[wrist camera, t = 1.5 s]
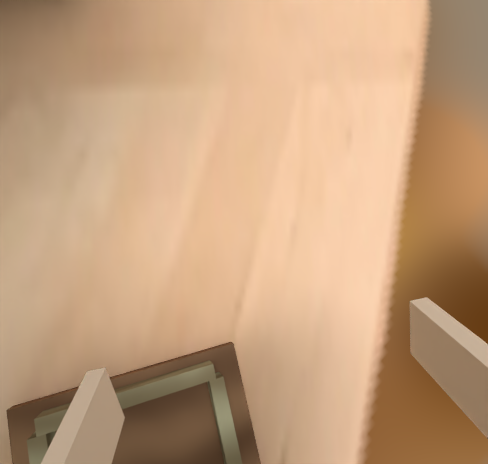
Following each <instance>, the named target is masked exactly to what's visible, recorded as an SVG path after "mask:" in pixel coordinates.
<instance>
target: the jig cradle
mask: <svg viewBox="0 0 488 464" xmlns="http://www.w3.org/2000/svg"><path fill="white" fill-rule="evenodd" d="M110 380H111V383H112V386H113V388H114V391H115V393H116V396H117V399H118V401H119V404H120V406H121V409H122V412H123V414H124V417H125V419H124V422H123V426H122V429H121V433H120V436H119V440H118V443H117V447H116V450H115V454H114V457H113V461H112V464H261V463H260V459H259V454H258V450H257V445H256V441H255V437H254V432H253V428H252V423H251V419H250V415H249V410H248V406H247V401H246V397H245V393H244V388H243V384H242V380H241V375H240V371H239V366H238V362H237V358H236V353H235V349H234V344H233V343H232V342H229V343H226V344H222V345H219V346H215V347H212V348H209V349H205V350H202V351H198V352H195V353H192V354H188V355H185V356H181V357H178V358H175V359H171V360H168V361H164V362H161V363H158V364H154V365H151V366H147V367H144V368H141V369H137V370H134V371H130V372H127V373H124V374H120V375H117V376H113V377H110ZM78 388H79V387H76V388H73V389H69V390H66V391H62V392H59V393H56V394H52V395H49V396H45V397H42V398H39V399H35V400H32V401H28V402H25V403H22V404H18V405H15V406H13V407H11V408H10V409H8V410H7V418H8V427H9V436H10V444H11V453H12V462H13V464H41V462H42V460H43V458H44V456H45V454H46V452H47V450H48V448H49V446H50V444H51V442H52V440H53V438H54V436H55V434H56V432H57V430H58V428H59V426H60V424H61V422H62V420H63V418H64V416H65V414H66V412H67V410H68V408H69V406H70V404H71V402H72V400H73V398H74V396H75V394H76V392H77V390H78Z"/></svg>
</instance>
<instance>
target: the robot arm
mask: <svg viewBox="0 0 488 464" xmlns="http://www.w3.org/2000/svg"><path fill="white" fill-rule="evenodd" d="M410 339H411V340H410V342H411V343H410V344H411V354H412V355H413V356H414V358H415V359H416V360H417V361H418V362H419V363H420V364H421V365H422V366H423V368H424V369H425V370H427V372H428V373H429V374H430V375H431V376H432V377H433V379H434V380H435V381H436V382H437V383H438V384H439V385H440V386H441V387H442V388H443V390H444V391H445V392H446V393H447V394H448V395H449V396H450V397H451V398H452V400H453V401H454V402H455V403H456V404H457V405H458V406H459V407H460V408H461V409H462V411H463V412H464V413H465V414H466V415H467V416H468V417H469V418H470V419H471V421H472V422H473V423H474V424H475V425H476V426H477V427H478V428H479V429H480V430H481V432H482V433H483V434H484V435H485V436H486V437H487V438H488V344H486V343H485V342H484V341H483V340H481V339H480V338H479V337H478V336H476V335H475V334H474V333H472V332H471V331H470V330H468V329H467V328H466V327H465V326H463V325H462V324H461V323H459V322H458V321H457V320H455V319H454V318H453V317H452V316H450V315H449V314H448V313H446V312H445V311H444V310H443V309H441V308H440V307H439V306H437V305H436V304H435V303H433V302H432V301H431V300H430V299H428V298H427V297H426V298H422V299H417V300H412V301H410ZM124 419H125V417H124V414H123V412H122V409H121V406H120V404H119V401H118V399H117V396H116V393H115V391H114V388H113V386H112V383H111V380H110V378H109V375H108V373H107V370H106V367H105V368H100V369H95V370H91V371H87V372H86V374H85V376H84V378H83V380H82V382H81V384H80V386H79V388H78V390H77V392H76V394H75V396H74V398H73V400H72V402H71V404H70V406H69V408H68V410H67V412H66V414H65V416H64V418H63V420H62V422H61V424H60V426H59V428H58V430H57V432H56V434H55V436H54V438H53V440H52V442H51V444H50V446H49V448H48V450H47V452H46V454H45V456H44V458H43V460H42V462H41V464H112V461H113V457H114V454H115V450H116V447H117V443H118V440H119V436H120V433H121V429H122V426H123V422H124Z"/></svg>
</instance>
